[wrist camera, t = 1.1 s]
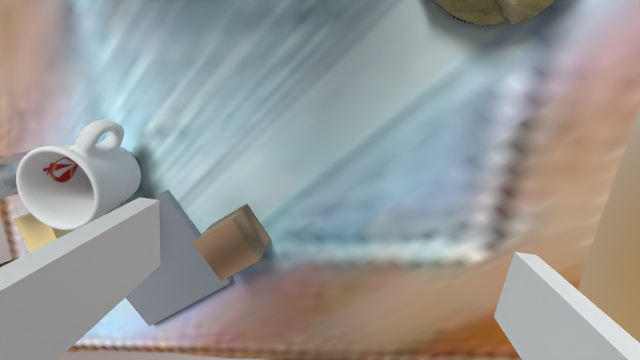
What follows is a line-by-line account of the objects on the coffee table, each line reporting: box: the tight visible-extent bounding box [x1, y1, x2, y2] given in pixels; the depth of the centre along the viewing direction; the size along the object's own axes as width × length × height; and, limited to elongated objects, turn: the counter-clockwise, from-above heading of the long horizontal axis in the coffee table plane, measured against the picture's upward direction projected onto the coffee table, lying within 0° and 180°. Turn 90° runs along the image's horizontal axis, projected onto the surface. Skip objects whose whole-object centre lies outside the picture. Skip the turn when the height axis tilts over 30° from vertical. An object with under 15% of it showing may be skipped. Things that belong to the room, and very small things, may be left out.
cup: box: [16, 120, 141, 230], centre depth 32 cm, size 11×8×8 cm
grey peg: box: [0, 151, 31, 199], centre depth 32 cm, size 4×4×9 cm
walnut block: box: [193, 204, 271, 281], centre depth 34 cm, size 5×5×5 cm
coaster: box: [126, 190, 233, 326], centre depth 38 cm, size 13×13×1 cm
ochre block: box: [14, 213, 74, 252], centre depth 37 cm, size 4×4×4 cm
